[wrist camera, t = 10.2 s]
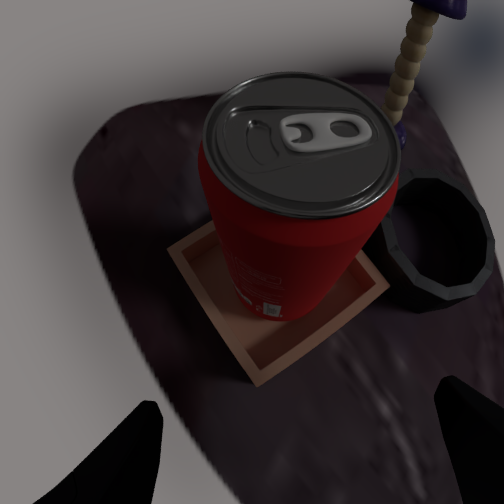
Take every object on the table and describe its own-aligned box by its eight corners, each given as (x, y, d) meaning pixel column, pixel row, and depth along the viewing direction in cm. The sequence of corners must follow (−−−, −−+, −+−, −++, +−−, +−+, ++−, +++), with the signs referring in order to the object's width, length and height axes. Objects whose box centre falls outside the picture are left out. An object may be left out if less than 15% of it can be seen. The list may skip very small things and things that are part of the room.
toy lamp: (347, 113, 24) (388, -69, 8) (393, 113, 24) (448, -49, 8) (368, 155, 22) (437, -48, 6) (416, 153, 22) (498, -20, 6)
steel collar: (483, 263, 18) (510, 245, 15) (417, 338, 17) (446, 330, 13) (414, 179, 21) (432, 151, 18) (337, 235, 19) (351, 207, 16)
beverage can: (227, 246, 19) (186, 80, 7) (311, 231, 19) (360, 64, 8) (242, 332, 17) (203, 251, 6) (333, 313, 17) (445, 208, 6)
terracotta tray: (375, 297, 18) (390, 285, 15) (257, 385, 16) (256, 387, 14) (290, 193, 21) (293, 172, 18) (177, 264, 19) (166, 248, 17)
